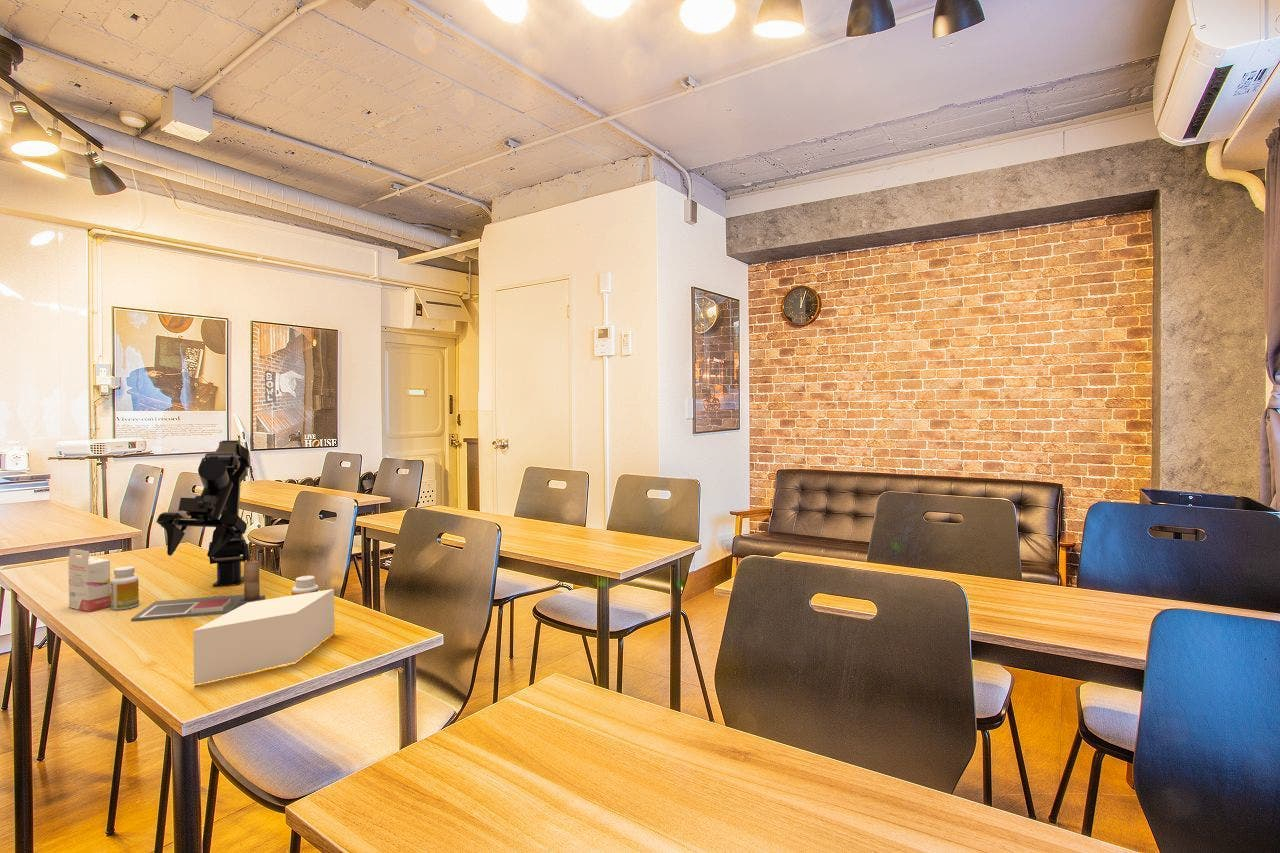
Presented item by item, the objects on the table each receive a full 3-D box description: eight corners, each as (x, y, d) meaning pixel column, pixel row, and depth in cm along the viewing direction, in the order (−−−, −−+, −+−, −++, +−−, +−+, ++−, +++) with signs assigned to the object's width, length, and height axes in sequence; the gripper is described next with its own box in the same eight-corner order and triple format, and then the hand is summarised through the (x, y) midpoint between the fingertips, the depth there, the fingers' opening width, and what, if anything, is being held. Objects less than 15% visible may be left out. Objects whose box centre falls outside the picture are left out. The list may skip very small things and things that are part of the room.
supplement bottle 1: (144, 604, 159) (143, 565, 159) (125, 610, 154) (124, 571, 153) (124, 603, 160) (124, 565, 159) (104, 610, 154) (104, 570, 154)
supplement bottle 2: (311, 625, 144) (311, 580, 144) (286, 625, 144) (286, 581, 144) (323, 617, 150) (322, 574, 150) (299, 617, 150) (298, 574, 150)
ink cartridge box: (112, 606, 157) (111, 547, 157) (88, 612, 152) (87, 551, 152) (91, 602, 160) (90, 544, 160) (67, 608, 156) (66, 548, 155)
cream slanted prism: (170, 680, 116) (169, 624, 115) (311, 630, 142) (311, 584, 142) (219, 695, 110) (218, 637, 109) (358, 640, 136) (357, 593, 136)
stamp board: (155, 603, 160) (155, 596, 159) (246, 596, 166) (246, 589, 166) (131, 621, 146) (131, 613, 146) (231, 612, 153) (230, 605, 153)
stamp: (242, 607, 157) (241, 561, 157) (265, 604, 159) (264, 559, 159) (238, 613, 153) (237, 565, 152) (262, 610, 155) (261, 564, 154)
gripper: (157, 480, 153) (128, 540, 145) (237, 483, 154) (212, 543, 146) (182, 501, 163) (155, 559, 154) (256, 504, 164) (234, 561, 155)
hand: (188, 555), depth 152 cm, fingers open, 9 cm apart
